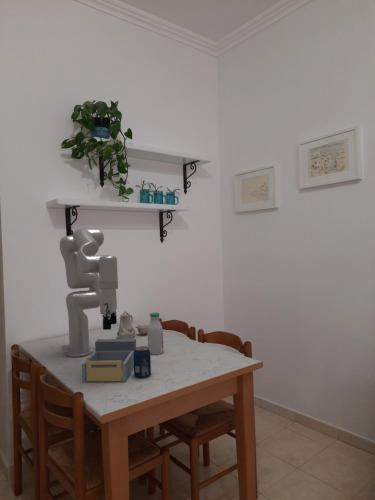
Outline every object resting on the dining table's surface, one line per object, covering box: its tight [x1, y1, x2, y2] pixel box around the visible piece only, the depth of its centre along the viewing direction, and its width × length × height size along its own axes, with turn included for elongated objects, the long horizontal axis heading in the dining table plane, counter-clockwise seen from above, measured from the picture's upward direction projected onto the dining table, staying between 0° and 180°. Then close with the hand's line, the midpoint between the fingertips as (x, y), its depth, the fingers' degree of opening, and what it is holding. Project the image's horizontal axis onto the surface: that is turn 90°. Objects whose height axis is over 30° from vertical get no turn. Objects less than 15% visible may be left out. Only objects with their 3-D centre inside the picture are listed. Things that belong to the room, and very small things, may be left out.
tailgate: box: [86, 361, 123, 383], centre depth 140 cm, size 14×1×9 cm, turn 87°
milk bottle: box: [147, 311, 164, 356], centre depth 179 cm, size 8×8×20 cm
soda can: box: [133, 345, 152, 379], centre depth 146 cm, size 7×7×12 cm
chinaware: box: [116, 309, 149, 339], centre depth 209 cm, size 28×17×17 cm, turn 162°
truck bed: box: [81, 338, 137, 383], centre depth 151 cm, size 17×22×12 cm
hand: (110, 326), depth 148 cm, fingers open, 9 cm apart
